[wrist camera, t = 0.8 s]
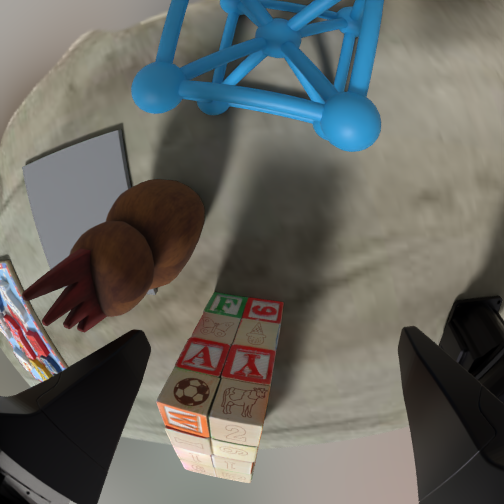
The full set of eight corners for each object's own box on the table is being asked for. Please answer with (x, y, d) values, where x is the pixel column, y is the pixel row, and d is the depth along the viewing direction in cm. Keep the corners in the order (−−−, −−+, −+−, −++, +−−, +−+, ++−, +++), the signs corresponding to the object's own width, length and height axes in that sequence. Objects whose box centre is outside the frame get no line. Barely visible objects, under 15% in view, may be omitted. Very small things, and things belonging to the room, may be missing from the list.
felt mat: (121, 129, 19) (117, 129, 19) (157, 291, 25) (155, 294, 25) (25, 166, 22) (22, 167, 22) (59, 284, 28) (57, 286, 28)
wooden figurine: (160, 159, 20) (-12, 234, 7) (227, 189, 20) (95, 321, 7) (139, 232, 23) (12, 343, 10) (197, 261, 23) (97, 409, 10)
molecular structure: (368, 19, 13) (413, -48, 4) (341, 144, 17) (379, 163, 8) (228, -6, 13) (173, -76, 5) (200, 113, 18) (116, 112, 9)
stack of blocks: (263, 423, 33) (246, 501, 22) (218, 414, 34) (193, 490, 23) (284, 299, 24) (263, 429, 13) (212, 289, 24) (153, 403, 13)
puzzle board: (-27, 265, 35) (-35, 271, 33) (12, 256, 30) (0, 264, 28) (36, 376, 47) (31, 383, 45) (95, 398, 42) (89, 408, 40)
